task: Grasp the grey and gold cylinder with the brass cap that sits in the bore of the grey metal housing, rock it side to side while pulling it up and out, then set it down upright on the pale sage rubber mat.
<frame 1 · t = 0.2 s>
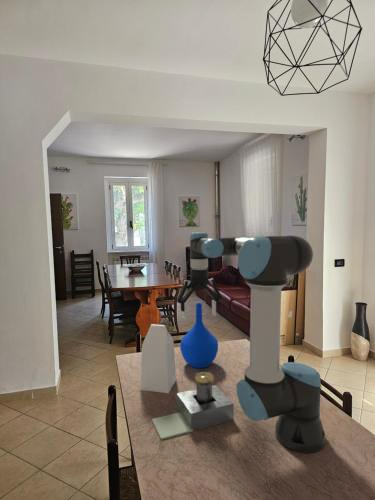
hand: (199, 316, 143), 28 cm above the table, fingers open, 13 cm apart
milk: (158, 385, 140), on the table
mat: (171, 425, 112), on the table
vase: (199, 364, 160), on the table
grey and gold cylinder: (204, 395, 118), in the housing
housing: (204, 414, 119), on the table
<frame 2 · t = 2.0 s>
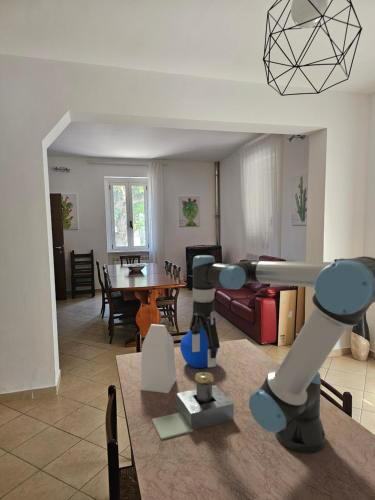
hand: (203, 358, 117), 21 cm above the table, fingers open, 13 cm apart
nothing on the table moved.
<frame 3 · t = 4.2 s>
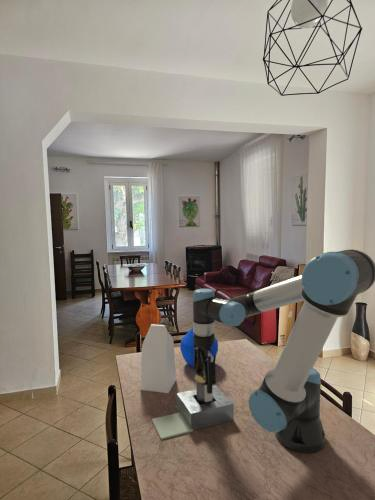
hand: (204, 395, 118), 7 cm above the table, fingers closed on grey and gold cylinder, 7 cm apart
grey and gold cylinder: (204, 395, 118), in the housing, touching gripper
everything else where it was.
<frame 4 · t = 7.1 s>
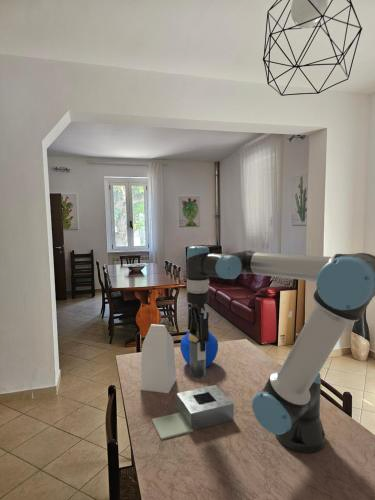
hand: (197, 355, 116), 22 cm above the table, fingers closed on grey and gold cylinder, 7 cm apart
grey and gold cylinder: (197, 355, 116), point 22 cm above the table, touching gripper
everything else where it was.
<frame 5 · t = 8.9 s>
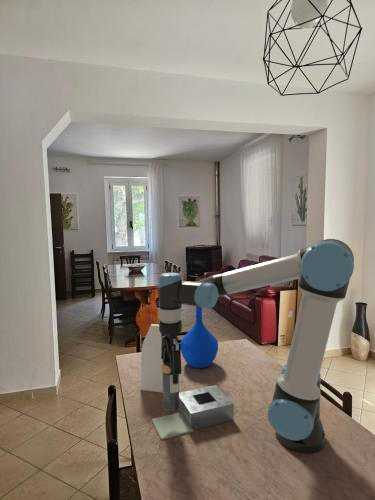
hand: (170, 386, 111), 14 cm above the table, fingers closed on grey and gold cylinder, 7 cm apart
grey and gold cylinder: (170, 386, 111), point 14 cm above the table, touching gripper
everything else where it was.
when the fingers open (9 cm above the table, at t = 10.4 s): grey and gold cylinder drops 1 cm, resting on mat.
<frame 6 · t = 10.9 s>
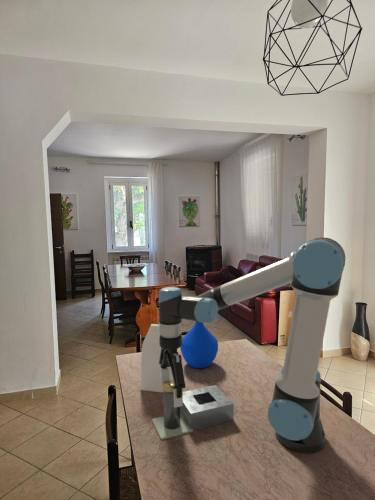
hand: (171, 395, 111), 11 cm above the table, fingers open, 13 cm apart
grey and gold cylinder: (171, 404, 111), on the mat, point 8 cm above the table
everything else where it was.
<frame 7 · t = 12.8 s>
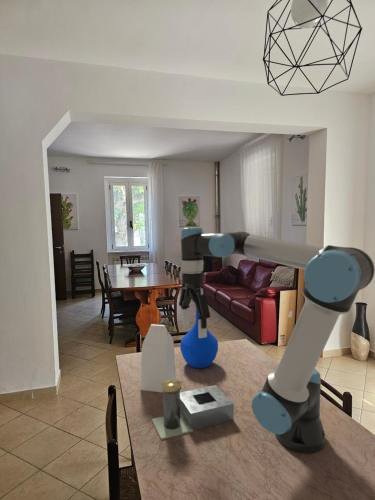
hand: (193, 331, 116), 30 cm above the table, fingers open, 13 cm apart
nothing on the table moved.
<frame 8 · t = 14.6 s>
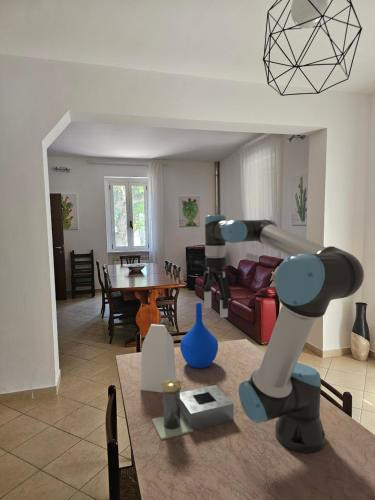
hand: (215, 312, 125), 35 cm above the table, fingers open, 13 cm apart
nothing on the table moved.
at the end: grey and gold cylinder inside the target area on the mat (0.0 cm from its centre), point 7.7 cm above the mat's base; grey and gold cylinder tilted 0°; grey and gold cylinder touching mat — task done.
